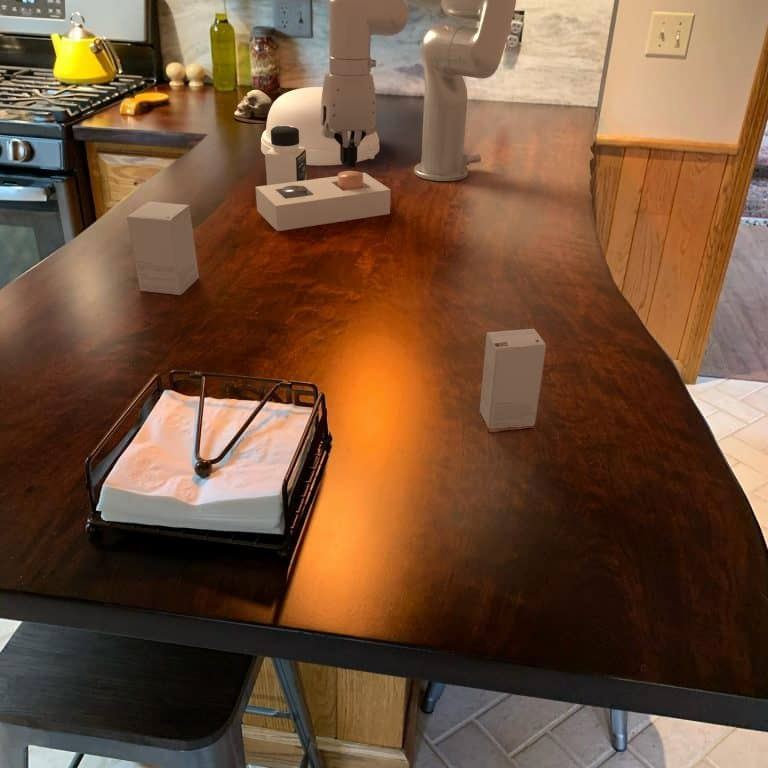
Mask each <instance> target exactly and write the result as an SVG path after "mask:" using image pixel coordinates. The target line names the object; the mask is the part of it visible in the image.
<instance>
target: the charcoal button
mask: <svg viewBox="0 0 768 768" xmlns="http://www.w3.org/2000/svg"><path fill="white" fill-rule="evenodd" d="M282 196H283V197H284V198H285V199H288V198H295V197H302V196H308V191H307V188H306V187H303V186H296V185H294V186H287V187H284V188H282Z"/></svg>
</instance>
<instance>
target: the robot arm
mask: <svg viewBox="0 0 768 768" xmlns="http://www.w3.org/2000/svg"><path fill="white" fill-rule="evenodd" d="M440 2H441V3H440V4H441V9H442V11H443V12H444V14H446V16H448V17H450V18H453V19H457V20H463V21H470V22H477V23H478V27H471V26H467V25H460V24H453V23H452V24H451V23H441V24H436V25H433V26H432V27H431V28H429V29H428V30H427V31H426V32H425V34H424V36H423V39H422V44H421V58H422V59H421V60H422V64H423V72H424V74H423V76H424V101H423V118H422V119H423V123H422V139H421V140H422V142H421V143H422V144H421V161H420V162H419V163H417V164H416V165H415V166H414V170H413V171H414V174H415V176H417V177H420V178H422V179H424V180H428V181H434V182H436V181H437V182H455V181H460V180H463V179H465V178H467V177H468V176H469V171H470V170H469V168H468V167H467V166H470V164H478V163H480V162H481V160H482V156H481V154H479V153H478V154H471V153H469V152H464V148H465V134H466V120H467V109H468V106H467V105H468V90H467V86H466V85H467V84H466V83H465V80H464V77H467V78H475V79H480V80H482V79H488V78H490V77H492V76H493V75H494V74H496V71H497V70H498V68H499V66H500V63H501V62H502V57H503V54H504V50H505V47H506V45H507V40H508V36H509V33H510V29H511V25H512V22H513V18H514V15H515V14H514V13H515V10H516V4H517V0H441V1H440ZM328 6H329V12H328V13H329V73H325V74H324V79H323V84H322V87H323V90H322V99H321V125H322V126H324V128H323V132H322V135H323V136H325V137H326V138H332V139H335V140H336V141H337V142H338V144H340V161H341V162H342V164H341V165H343V166H344V167H345V168H347V169H350V168H356V166H357V165H356V164H357V162H356V161H357V147H358V146H359V145H360V142H361V141H362V140H363V138H364V137H365V136H368V135H371V134H373V133H375V131H376V130H375V129H376V128H375V126H376V122H377V99H376V98H377V97H376V90H375V89H376V88H375V82H374V76H373V74H371V72H372V69H373V68H376V66H377V60H376V59H372V57H371V37H372V36H383V37H391V36H395V35H398V34H399V33H401V32H402V31H404V29H405V27H406V26H407V24H408V22H409V19H410V9H409V8H410V7H409V5H408V2H407V0H329V5H328ZM347 131H350V135H349V140H348V132H347Z"/></svg>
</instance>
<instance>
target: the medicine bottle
mask: <svg viewBox="0 0 768 768" xmlns="http://www.w3.org/2000/svg"><path fill="white" fill-rule="evenodd" d="M271 146H272V149H270V150H269V151H268V152H267V153H266V154H264V156H265V158H264V159H265V160H264V161H265V171H266V185H273V184H281V183H289V182H296V181H304V180H307V177H308V176H307V165H306V148H305V147H299V130H298V129H297V128H296V127H293V126H289V125H280V126H276V127H274V128H272V129H271Z"/></svg>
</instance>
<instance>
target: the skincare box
mask: <svg viewBox="0 0 768 768" xmlns="http://www.w3.org/2000/svg"><path fill="white" fill-rule="evenodd" d="M546 349H547V344H546V343H545V341H544V340H543V338H542V337H541V336H540V334H539V333H538V332H537V331H536V329H535V328H526V329H525V328H524V329H514V330H512V329H511V330H501V331H489V332H488V331H487V333H486V337H485V347H484V360H483V369H482V370H483V372H482V380H481V381H482V382H481V390H480V391H481V392H480V393H481V394H480V404H479V412H481V414H482V416H483V418H484V420H485V422H486V424H487V426H488V428H491V429H493V428H494V429H495V428H505V427H506V428H507V427H522V426H533V425H535V426H536V419H537V414H538V413H537V411H538V407H539V406H538V405H539V399H540V393H541V385H542V377H543V372H544V371H543V370H544V363H545V355H546Z"/></svg>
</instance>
